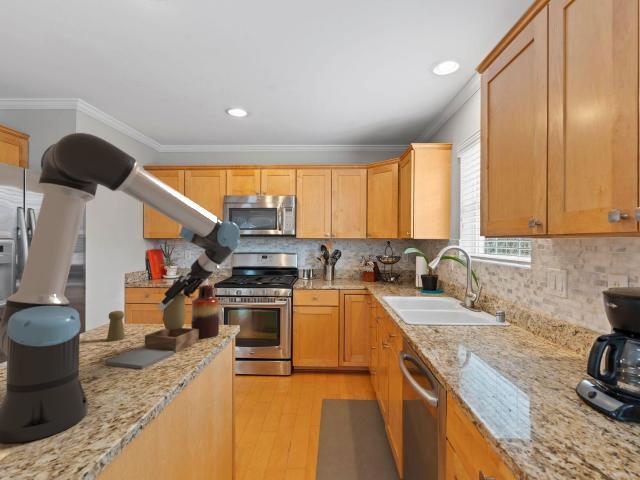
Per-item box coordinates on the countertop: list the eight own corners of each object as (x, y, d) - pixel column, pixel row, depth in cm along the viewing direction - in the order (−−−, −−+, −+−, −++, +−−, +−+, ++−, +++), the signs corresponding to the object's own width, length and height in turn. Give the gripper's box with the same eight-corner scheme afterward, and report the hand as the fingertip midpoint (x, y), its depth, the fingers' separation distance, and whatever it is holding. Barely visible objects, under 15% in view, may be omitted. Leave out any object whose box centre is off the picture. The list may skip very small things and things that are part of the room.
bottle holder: (175, 352, 114) (176, 338, 114) (144, 349, 117) (144, 335, 117) (198, 342, 126) (198, 329, 126) (169, 339, 130) (170, 326, 130)
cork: (110, 337, 132) (111, 309, 132) (127, 336, 133) (127, 309, 133) (103, 341, 126) (104, 312, 126) (121, 341, 127) (121, 312, 127)
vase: (186, 338, 131) (187, 287, 132) (197, 331, 142) (198, 284, 142) (213, 339, 131) (214, 287, 131) (222, 331, 142) (222, 284, 142)
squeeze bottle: (177, 331, 117) (178, 280, 118) (157, 329, 119) (158, 280, 120) (190, 326, 125) (191, 279, 126) (171, 324, 127) (172, 278, 127)
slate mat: (142, 369, 99) (142, 365, 99) (105, 364, 102) (105, 361, 102) (174, 354, 112) (174, 351, 112) (140, 350, 116) (140, 347, 116)
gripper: (195, 274, 110) (153, 320, 113) (226, 271, 128) (188, 310, 132) (182, 258, 111) (140, 303, 115) (214, 257, 130) (178, 296, 133)
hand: (166, 307), depth 123 cm, fingers closed on squeeze bottle, 6 cm apart
